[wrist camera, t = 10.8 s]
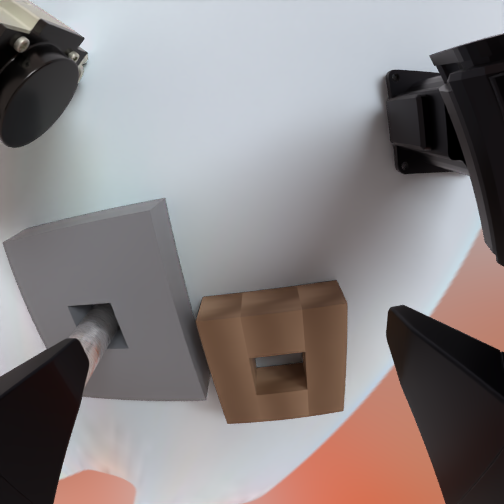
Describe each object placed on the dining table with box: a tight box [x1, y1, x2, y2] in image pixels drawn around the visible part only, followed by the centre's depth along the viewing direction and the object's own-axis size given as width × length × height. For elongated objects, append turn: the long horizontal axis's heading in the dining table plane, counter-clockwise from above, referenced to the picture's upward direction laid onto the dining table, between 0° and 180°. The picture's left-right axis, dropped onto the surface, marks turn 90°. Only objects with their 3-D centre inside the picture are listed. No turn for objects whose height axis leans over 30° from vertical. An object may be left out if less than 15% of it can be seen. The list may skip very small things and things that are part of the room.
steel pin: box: [69, 303, 120, 388], centre depth 18 cm, size 2×2×8 cm
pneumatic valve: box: [0, 0, 88, 148], centre depth 10 cm, size 6×12×12 cm, turn 48°
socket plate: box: [3, 198, 210, 401], centre depth 20 cm, size 12×14×3 cm
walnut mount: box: [196, 280, 347, 424], centre depth 22 cm, size 9×10×3 cm
